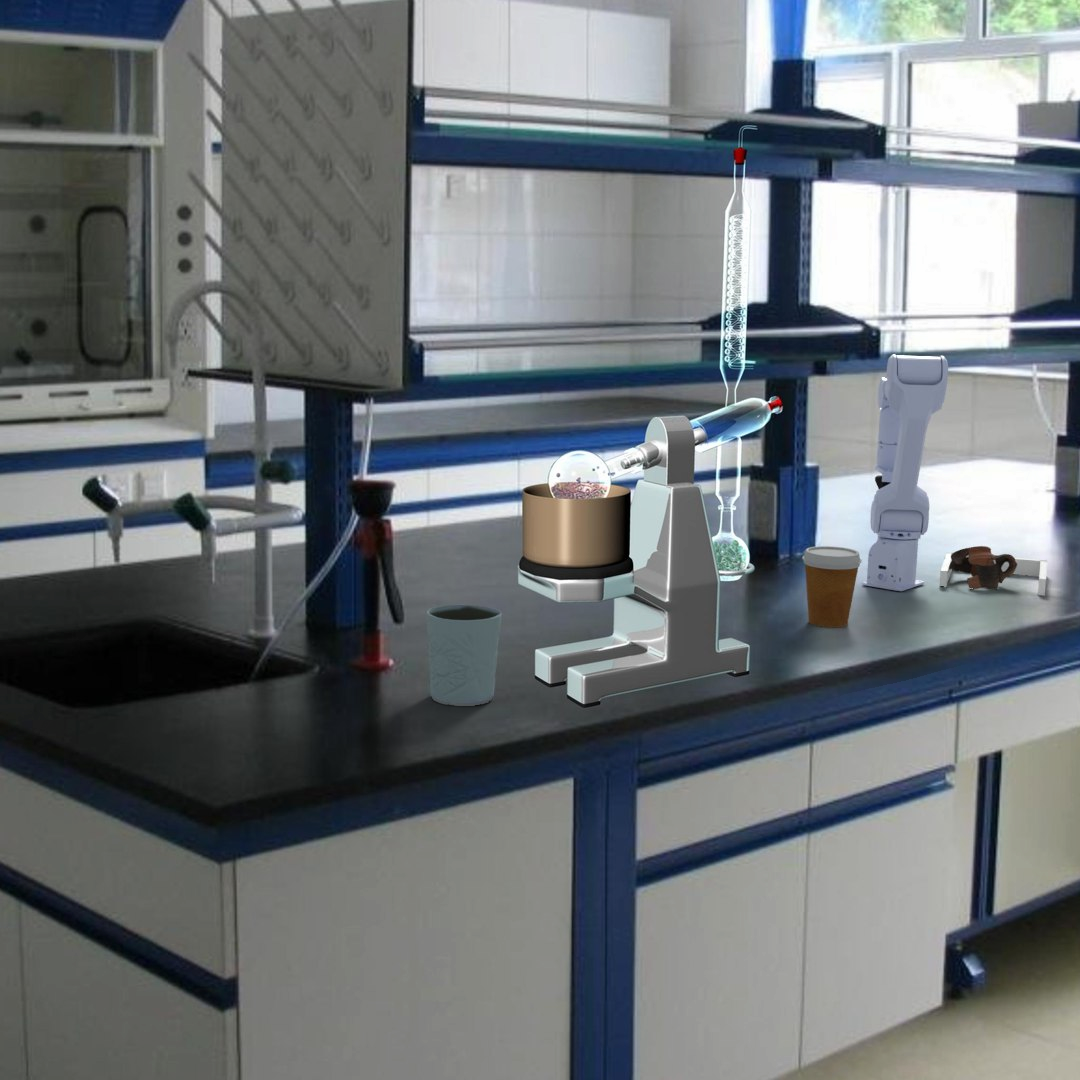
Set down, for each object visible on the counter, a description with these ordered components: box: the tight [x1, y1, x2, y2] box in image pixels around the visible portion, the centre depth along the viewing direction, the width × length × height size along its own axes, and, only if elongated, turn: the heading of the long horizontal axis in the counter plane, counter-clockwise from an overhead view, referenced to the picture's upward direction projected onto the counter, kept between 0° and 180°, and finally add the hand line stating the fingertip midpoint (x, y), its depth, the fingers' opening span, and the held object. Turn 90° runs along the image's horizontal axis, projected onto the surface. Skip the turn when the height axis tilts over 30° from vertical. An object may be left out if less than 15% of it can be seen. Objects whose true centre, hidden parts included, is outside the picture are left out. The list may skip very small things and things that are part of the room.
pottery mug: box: [949, 545, 1017, 590], centre depth 325 cm, size 12×10×8 cm
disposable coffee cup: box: [802, 545, 863, 628], centre depth 290 cm, size 10×10×12 cm
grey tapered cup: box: [425, 604, 503, 703], centre depth 241 cm, size 10×10×12 cm
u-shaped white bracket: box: [939, 552, 1048, 596], centre depth 328 cm, size 18×18×3 cm
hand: (888, 514), depth 336 cm, fingers closed
